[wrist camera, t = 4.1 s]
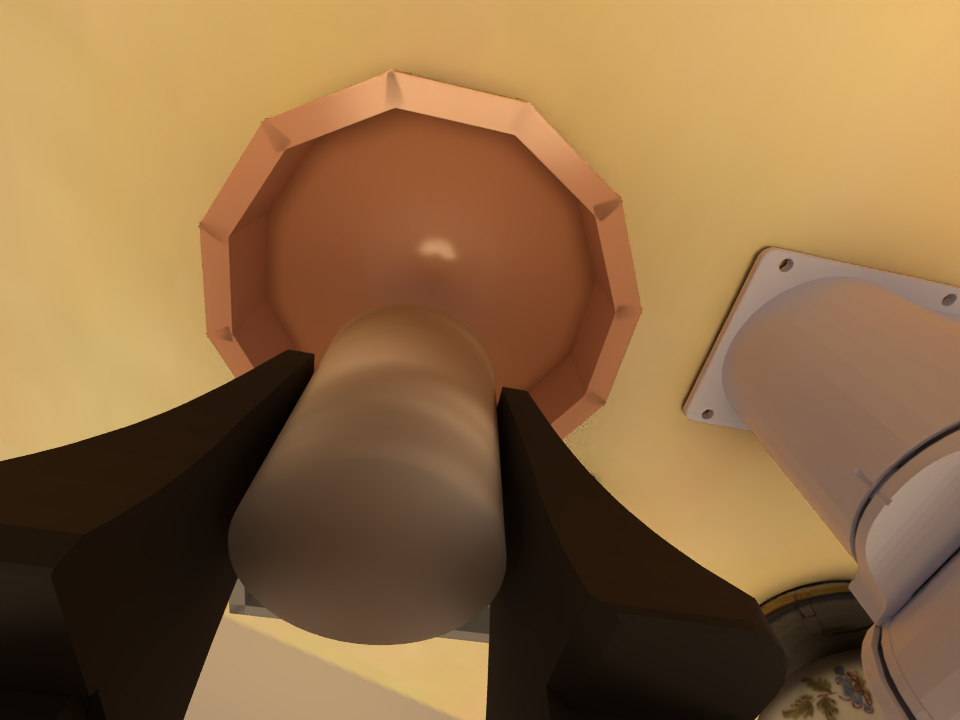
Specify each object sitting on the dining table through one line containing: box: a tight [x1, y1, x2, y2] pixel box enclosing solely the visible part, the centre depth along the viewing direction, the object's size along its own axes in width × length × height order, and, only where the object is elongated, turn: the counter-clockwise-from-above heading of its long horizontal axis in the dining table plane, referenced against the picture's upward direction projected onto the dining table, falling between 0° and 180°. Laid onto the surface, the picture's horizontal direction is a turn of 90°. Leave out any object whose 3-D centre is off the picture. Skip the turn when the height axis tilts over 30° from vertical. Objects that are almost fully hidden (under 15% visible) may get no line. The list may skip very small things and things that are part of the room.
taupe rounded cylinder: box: [228, 304, 506, 645], centre depth 10 cm, size 4×4×6 cm
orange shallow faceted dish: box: [199, 70, 642, 439], centre depth 18 cm, size 14×14×4 cm
